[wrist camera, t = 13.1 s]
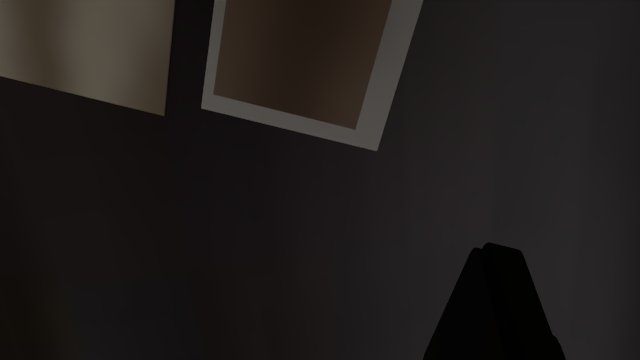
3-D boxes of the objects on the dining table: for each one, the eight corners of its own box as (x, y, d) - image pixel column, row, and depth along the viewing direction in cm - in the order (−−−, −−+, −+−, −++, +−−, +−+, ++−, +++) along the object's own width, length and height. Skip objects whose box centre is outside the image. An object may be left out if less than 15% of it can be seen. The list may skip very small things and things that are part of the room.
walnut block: (393, -45, 26) (397, -19, 20) (360, 75, 29) (355, 129, 23) (268, -77, 26) (234, -61, 20) (248, 47, 29) (213, 94, 23)
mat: (462, -130, 24) (463, -130, 24) (376, 150, 31) (376, 151, 31) (239, -188, 24) (238, -188, 24) (201, 107, 31) (201, 108, 31)
